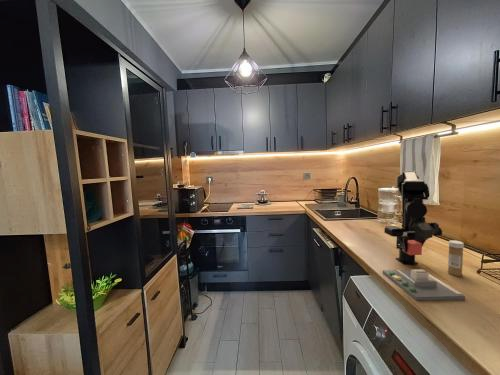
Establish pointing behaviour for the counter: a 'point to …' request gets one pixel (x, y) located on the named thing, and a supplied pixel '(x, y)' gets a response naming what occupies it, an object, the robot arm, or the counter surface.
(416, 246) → the cap
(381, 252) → the counter surface
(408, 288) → the breaker panel
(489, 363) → the counter surface
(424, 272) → the panel
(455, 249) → the sprinkles bottle
